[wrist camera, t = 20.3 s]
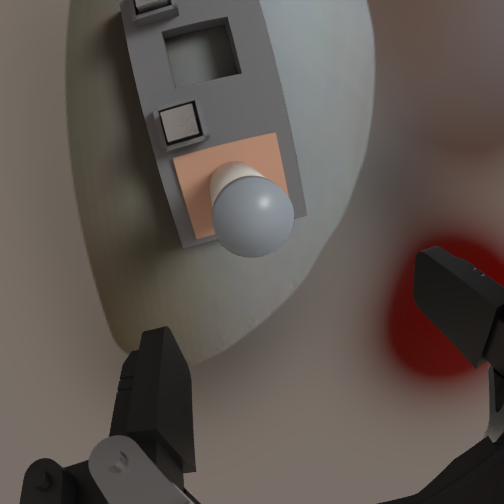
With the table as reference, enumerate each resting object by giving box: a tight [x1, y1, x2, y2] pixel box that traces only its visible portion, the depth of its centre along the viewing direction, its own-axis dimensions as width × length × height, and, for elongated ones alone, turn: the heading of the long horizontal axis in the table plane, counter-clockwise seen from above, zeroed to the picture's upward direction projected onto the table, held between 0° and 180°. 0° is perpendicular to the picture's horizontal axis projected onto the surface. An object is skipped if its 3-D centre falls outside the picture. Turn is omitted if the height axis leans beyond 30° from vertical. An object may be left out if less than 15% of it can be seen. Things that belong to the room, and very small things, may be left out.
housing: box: [119, 0, 307, 249], centre depth 23 cm, size 25×12×4 cm, turn 13°
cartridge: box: [209, 161, 294, 258], centre depth 22 cm, size 5×5×10 cm
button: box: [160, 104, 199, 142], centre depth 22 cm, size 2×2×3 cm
